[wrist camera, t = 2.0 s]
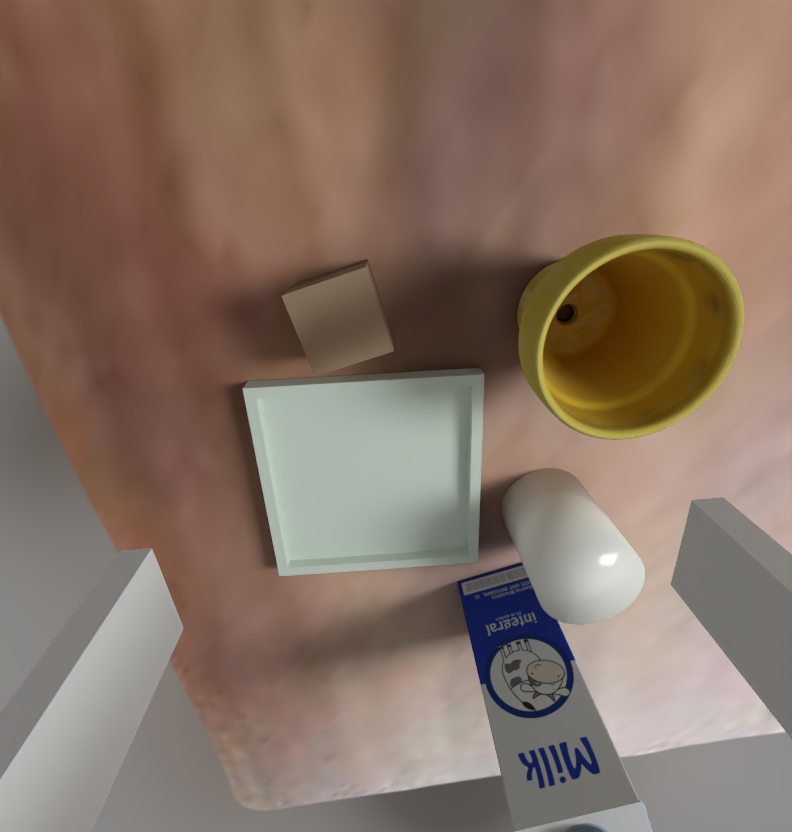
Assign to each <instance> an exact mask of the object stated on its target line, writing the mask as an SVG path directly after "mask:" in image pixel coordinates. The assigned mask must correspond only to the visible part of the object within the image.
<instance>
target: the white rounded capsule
mask: <svg viewBox="0 0 792 832" xmlns="http://www.w3.org/2000/svg"><path fill="white" fill-rule="evenodd" d="M502 516H503V519H504V522H505V524H506V526H507V529H508V531H509V533H510V536H511V538H512V540H513V542H514V545H515V547H516V549H517V552H518V554H519V556H520V559H521V561H522V563H523V566H524V568H525V570H526V573H527V575H528V577H529V580H530V582H531V584H532V586H533V589H534V591H535V593H536V596H537V598H538V600H539V603H540V605H541V607H542V608H543V610H544V611H545V612H546V613H547V614H548V615H549V616H551V617H552V618H554V619H556V620H558V621H561V622H564V623H569V624H591V623H596V622H600V621H603V620H606V619H608V618H611V617H613V616H615V615H617V614H618V613H620V612H621V611H623V610H624V609H625V608H627V607H628V606H629V605H630V604H631V603H632V602H633V601H634V600H635V599H636V597H637V596H638V594H639V593H640V591H641V589H642V587H643V583H644V579H645V570H644V565H643V563H642V561H641V559H640V558H639V556H638V555H637V554H636V552H635V551H634V550H633V549H632V547H631V546H630V545H629V544H628V542H627V541H626V540H625V538H624V537H623V536H622V535H621V533H620V532H619V531H618V530H617V528H616V527H615V526H614V524H613V523H612V522H611V521H610V519H609V518H608V517H607V516H606V514H605V513H604V512H603V510H602V509H601V508H600V507H599V505H598V504H597V503H596V502H595V500H594V499H593V498H592V496H591V495H590V494H589V493H588V491H587V490H586V489H585V488H584V486H583V485H582V484H581V483H580V481H579V480H578V479H577V478H576V477H575V476H574V475H572V474H571V473H569V472H567V471H564V470H560V469H554V468H546V469H539V470H535V471H532V472H530V473H528V474H525V475H524V476H522V477H520V478H519V479H518V480H517V481H515V482H514V483H513V484H512V485H511V487H510V488H509V489H508V491H507V492H506V494H505V496H504V498H503V502H502Z"/></svg>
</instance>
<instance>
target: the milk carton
mask: <svg viewBox="0 0 792 832" xmlns="http://www.w3.org/2000/svg"><path fill="white" fill-rule="evenodd" d="M457 583H458V588H459V592H460V596H461V601H462V605H463V610H464V614H465V618H466V623H467V627H468V631H469V636H470V640H471V644H472V649H473V653H474V657H475V662H476V666H477V671H478V675H479V679H480V684H481V688H482V692H483V697H484V701H485V705H486V710H487V714H488V719H489V723H490V727H491V732H492V736H493V740H494V745H495V749H496V753H497V758H498V762H499V767H500V771H501V775H502V780H503V784H504V788H505V793H506V797H507V801H508V806H509V810H510V814H511V818H512V823H513V827H514V832H653V830H652V827H651V824H650V820H649V817H648V814H647V811H646V808H645V804H644V802H643V801H641V802H640V800H639V798H638V796H637V794H636V792H635V789H634V787H633V785H632V783H631V781H630V779H629V776H628V774H627V772H626V770H625V768H624V765H623V763H622V761H621V759H620V757H619V754H618V752H617V750H616V748H615V746H614V744H613V741H612V739H611V737H610V735H609V733H608V730H607V728H606V726H605V724H604V722H603V719H602V717H601V715H600V713H599V711H598V709H597V706H596V704H595V702H594V700H593V698H592V695H591V693H590V691H589V689H588V687H587V685H586V682H585V680H584V678H583V676H582V674H581V671H580V669H579V667H578V665H577V663H576V660H575V658H574V656H573V654H572V652H571V650H570V647H569V645H568V643H567V641H566V639H565V636H564V634H563V632H562V630H561V628H560V625H559V623H558V621H557V620H556V619H554V618H552V617H551V616H549V615H548V614H547V613H546V612H545V611H544V610H543V608H542V607H541V605H540V603H539V600H538V598H537V596H536V593H535V591H534V589H533V586H532V584H531V582H530V580H529V577H528V575H527V573H526V570H525V568H524V566H523V563H520V564H517V565H514V566H510V567H507V568H503V569H500V570H496V571H493V572H490V573H486V574H483V575H479V576H476V577H472V578H469V579H466V580H462V581H459V582H458V581H457Z"/></svg>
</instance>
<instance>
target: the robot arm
mask: <svg viewBox="0 0 792 832" xmlns="http://www.w3.org/2000/svg"><path fill="white" fill-rule="evenodd" d="M671 585H672V587H673V588H674V589H675V590H676V592H677V593H678V594H679V596H680V597H681V598H682V599H683V601H684V602H685V603H686V604H687V606H688V607H689V608H690V610H691V611H692V612H693V613H694V615H695V616H696V617H697V619H698V620H699V621H700V622H701V624H702V625H703V626H704V627H705V629H706V630H707V631H708V633H709V634H710V635H711V636H712V638H713V639H714V640H715V642H716V643H717V644H718V645H719V647H720V648H721V649H722V650H723V652H724V653H725V654H726V656H727V657H728V658H729V659H730V661H731V662H732V663H733V664H734V666H735V667H736V668H737V670H738V671H739V672H740V673H741V675H742V676H743V677H744V679H745V680H746V681H747V682H748V684H749V685H750V686H751V687H752V689H753V690H754V691H755V693H756V694H757V695H758V696H759V698H760V699H761V700H762V702H763V703H764V704H765V705H766V707H767V708H768V709H769V710H770V712H771V713H772V714H773V716H774V717H775V718H776V719H777V721H778V722H779V723H780V724H781V726H782V727H783V728H784V730H785V731H786V732H787V733H788V734H789V736H790V737H791V739H792V555H791V554H790V553H789V552H788V551H787V550H785V549H784V548H783V547H782V546H781V545H779V544H778V543H777V542H776V541H775V540H773V539H772V538H771V537H770V536H769V535H767V534H766V533H765V532H764V531H763V530H761V529H760V528H759V527H758V526H757V525H755V524H754V523H753V522H752V521H751V520H749V519H748V518H747V517H746V516H745V515H744V514H742V513H741V512H740V511H739V510H738V509H736V508H735V507H734V506H733V505H732V504H730V503H729V502H728V501H727V500H726V499H724V498H712V499H700V500H692V501H691V505H690V509H689V513H688V517H687V521H686V526H685V530H684V534H683V538H682V542H681V546H680V550H679V554H678V558H677V562H676V566H675V570H674V574H673V578H672V582H671ZM183 629H184V628H183V625H182V623H181V620H180V618H179V615H178V613H177V610H176V608H175V605H174V603H173V600H172V598H171V595H170V593H169V590H168V588H167V585H166V583H165V580H164V578H163V575H162V573H161V570H160V568H159V565H158V563H157V560H156V558H155V555H154V553H153V550H152V548H149V549H138V550H127V551H120V552H119V553H118V555H117V556H116V557H115V559H114V560H113V562H112V563H111V564H110V565H109V567H108V568H107V570H106V571H105V572H104V573H103V575H102V576H101V577H100V579H99V580H98V582H97V583H96V584H95V586H94V587H93V588H92V590H91V591H90V592H89V594H88V595H87V596H86V598H85V599H84V601H83V602H82V603H81V604H80V606H79V607H78V609H77V610H76V611H75V612H74V614H73V615H72V617H71V618H70V619H69V621H68V622H67V623H66V625H65V626H64V627H63V629H62V630H61V631H60V633H59V634H58V635H57V637H56V638H55V639H54V641H53V642H52V643H51V645H50V646H49V648H48V649H47V650H46V652H45V653H44V654H43V656H42V657H41V658H40V660H39V661H38V662H37V664H36V665H35V666H34V668H33V669H32V670H31V672H30V673H29V674H28V676H27V677H26V679H25V680H24V681H23V683H22V684H21V685H20V687H19V688H18V689H17V691H16V692H15V693H14V695H13V696H12V697H11V699H10V700H9V702H8V703H7V704H6V705H5V707H4V708H3V709H2V711H1V712H0V832H91V831H92V828H93V826H94V824H95V822H96V820H97V817H98V815H99V813H100V811H101V808H102V806H103V804H104V802H105V800H106V798H107V795H108V793H109V791H110V789H111V786H112V784H113V782H114V780H115V778H116V776H117V773H118V771H119V769H120V767H121V765H122V762H123V760H124V758H125V756H126V754H127V752H128V749H129V747H130V745H131V743H132V740H133V738H134V736H135V734H136V732H137V730H138V727H139V725H140V723H141V721H142V719H143V716H144V714H145V712H146V710H147V708H148V705H149V703H150V701H151V699H152V697H153V694H154V692H155V690H156V688H157V686H158V684H159V681H160V679H161V677H162V675H163V672H164V670H165V668H166V666H167V664H168V662H169V659H170V657H171V655H172V653H173V651H174V648H175V646H176V644H177V642H178V640H179V637H180V635H181V633H182V631H183Z"/></svg>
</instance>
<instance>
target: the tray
mask: <svg viewBox="0 0 792 832" xmlns="http://www.w3.org/2000/svg"><path fill="white" fill-rule="evenodd" d="M243 394H244V399H245V404H246V409H247V414H248V419H249V424H250V429H251V434H252V440H253V445H254V450H255V455H256V460H257V465H258V470H259V475H260V480H261V485H262V490H263V495H264V500H265V506H266V511H267V516H268V521H269V526H270V531H271V536H272V541H273V546H274V551H275V556H276V561H277V566H278V572H279V576H288V575H303V574H318V573H332V572H347V571H362V570H376V569H391V568H406V567H420V566H435V565H450V564H465V563H478V545H479V517H480V488H481V459H482V431H483V402H484V373H483V372H482V370H481V369H480V368H467V369H450V370H433V371H416V372H399V373H382V374H365V375H347V376H330V377H313V378H296V379H279V380H262V381H248V382H247V383H246V385H245V386H244V387H243Z"/></svg>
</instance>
